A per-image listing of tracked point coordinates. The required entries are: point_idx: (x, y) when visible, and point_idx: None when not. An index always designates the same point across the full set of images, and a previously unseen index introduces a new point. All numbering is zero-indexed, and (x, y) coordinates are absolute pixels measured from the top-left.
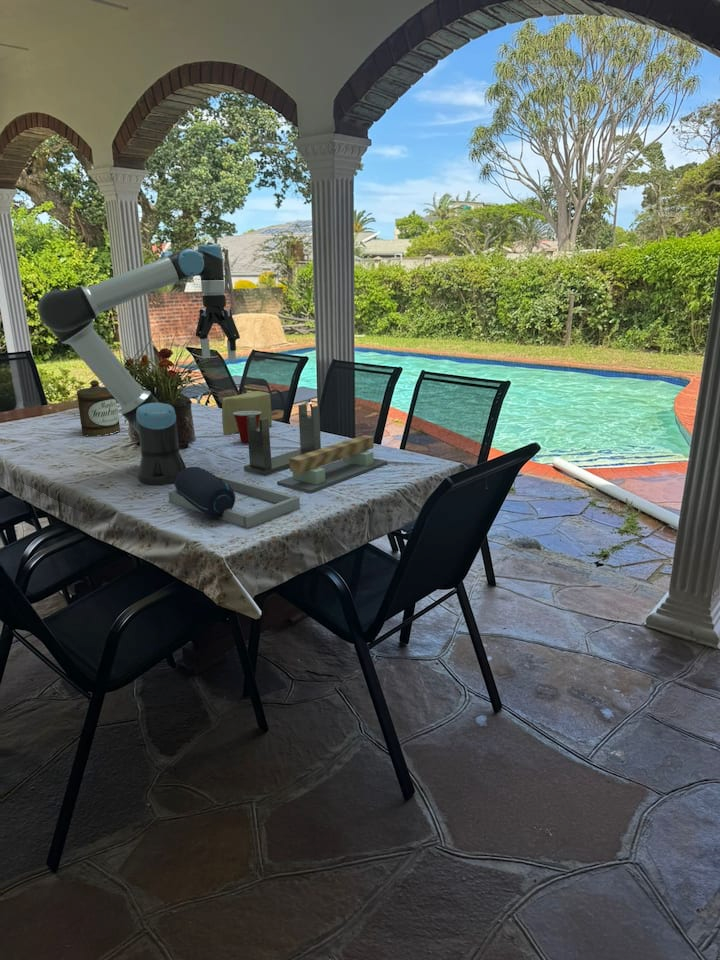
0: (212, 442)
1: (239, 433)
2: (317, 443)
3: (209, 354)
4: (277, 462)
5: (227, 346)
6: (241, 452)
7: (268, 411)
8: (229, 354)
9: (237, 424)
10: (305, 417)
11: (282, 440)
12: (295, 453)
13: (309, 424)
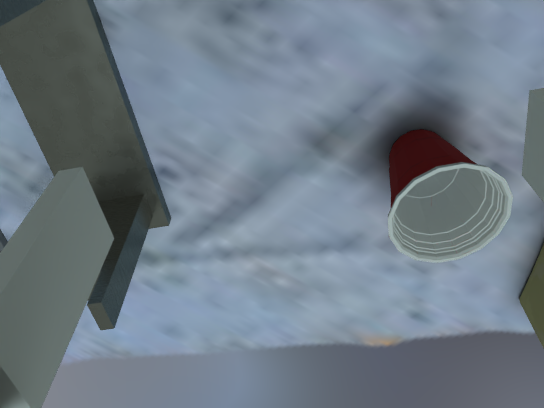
0: (534, 50)
1: (440, 140)
2: None
3: (538, 186)
4: (41, 57)
5: (9, 274)
6: (311, 58)
7: (541, 331)
8: (28, 213)
9: (453, 152)
10: None
11: (341, 235)
12: (118, 163)
13: None
